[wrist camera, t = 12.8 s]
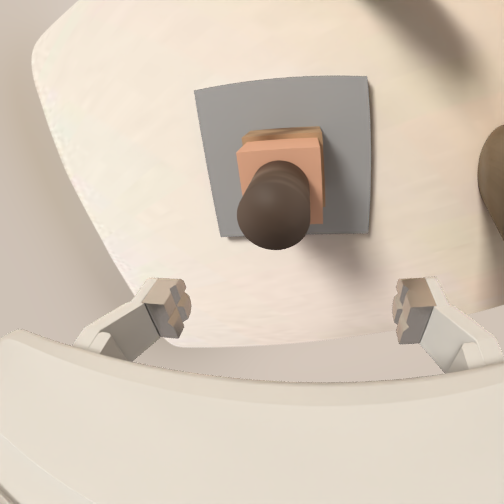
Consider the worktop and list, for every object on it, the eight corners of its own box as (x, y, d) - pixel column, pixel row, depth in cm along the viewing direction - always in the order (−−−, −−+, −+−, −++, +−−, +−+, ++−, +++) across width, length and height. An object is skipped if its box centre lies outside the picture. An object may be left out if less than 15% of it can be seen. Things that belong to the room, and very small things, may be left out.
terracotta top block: (317, 137, 26) (320, 147, 22) (320, 202, 30) (323, 223, 25) (246, 142, 27) (235, 152, 23) (255, 205, 31) (247, 226, 27)
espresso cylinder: (307, 159, 22) (308, 181, 18) (310, 213, 25) (311, 249, 20) (248, 162, 24) (231, 185, 19) (255, 215, 26) (242, 250, 21)
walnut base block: (319, 126, 30) (322, 132, 26) (322, 190, 34) (325, 206, 30) (250, 130, 31) (241, 137, 27) (258, 193, 35) (251, 209, 31)
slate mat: (364, 76, 27) (367, 76, 25) (366, 228, 37) (368, 233, 36) (198, 90, 31) (193, 90, 30) (223, 231, 41) (220, 236, 40)
